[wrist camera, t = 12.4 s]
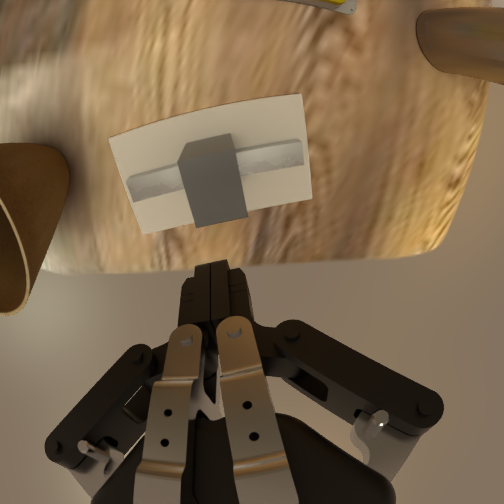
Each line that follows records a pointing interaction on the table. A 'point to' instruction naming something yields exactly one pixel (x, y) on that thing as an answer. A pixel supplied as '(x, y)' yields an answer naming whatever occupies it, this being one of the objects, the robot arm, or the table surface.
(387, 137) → the table surface
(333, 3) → the emergency button
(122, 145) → the mounting plate
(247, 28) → the table surface
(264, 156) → the rail
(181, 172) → the block
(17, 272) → the plant pot
